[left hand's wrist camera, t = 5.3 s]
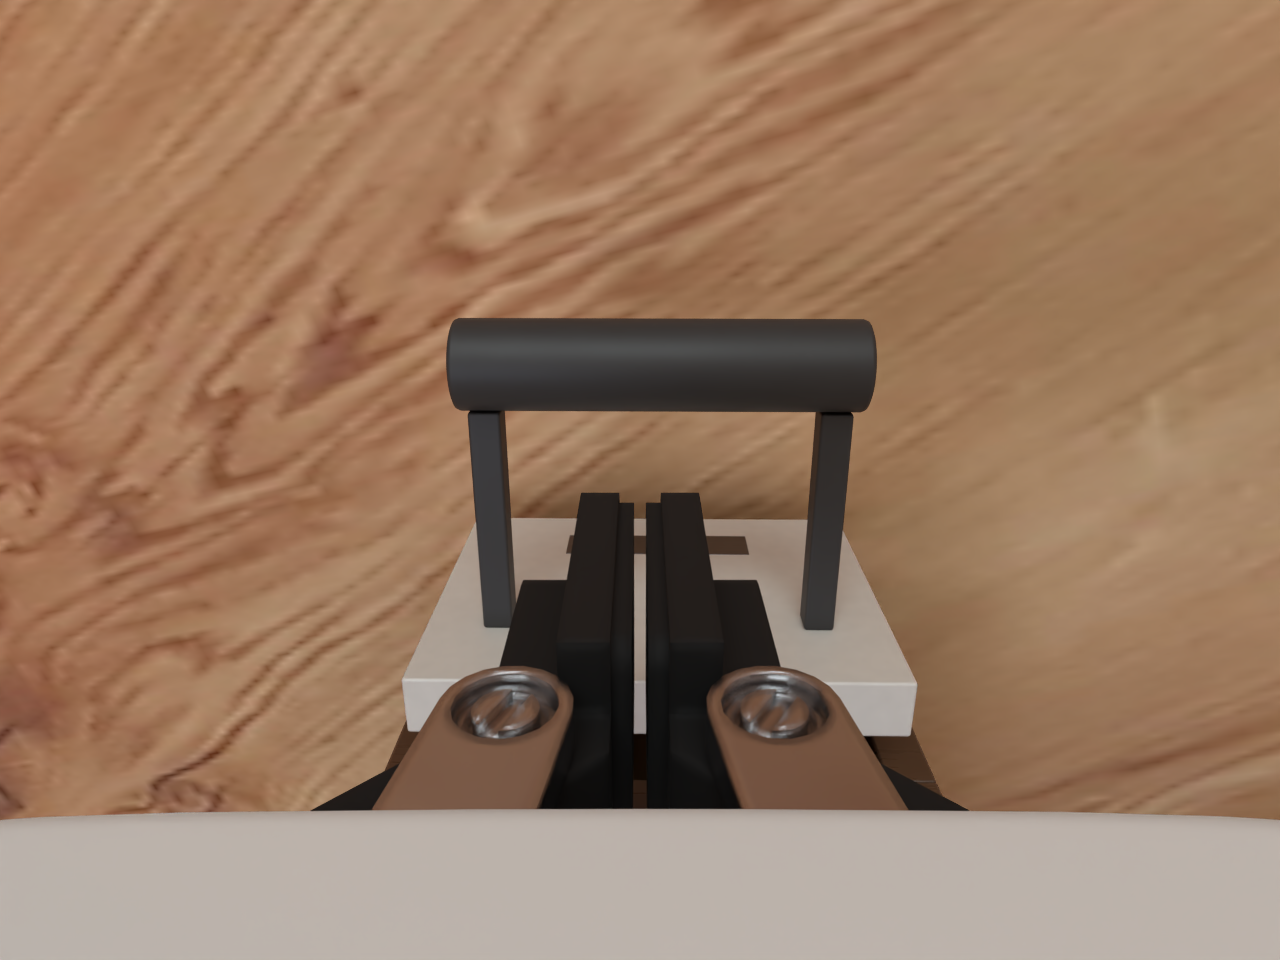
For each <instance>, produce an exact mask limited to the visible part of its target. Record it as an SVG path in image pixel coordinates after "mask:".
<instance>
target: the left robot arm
mask: <svg viewBox="0 0 1280 960" xmlns="http://www.w3.org/2000/svg"><path fill="white" fill-rule="evenodd" d="M633 773H634V503H619V493H581V497H580V503H579V509H578V515H577V521H576V527H575V533H574V539H573V544H572V550H571V556H570V562H569V568H568V574H567V580H523V582H522V584H521V587H520V591H519V595H518V598H517V602H516V606H515V610H514V613H513V617H512V621H511V625H510V628H509V632H508V636H507V639H506V643H505V647H504V651H503V654H502V658H501V662H500V666H499V667H496V668H490V669H485V670H482V671H479V672H476V673H474V674H471V675H468V676H466V677H464V678H462V679H461V680H459V681H458V682H456V683H455V684H453V685H451V686H450V687H449V688H448V689H447V691H446V692H445V693H444V694H443V695H442V696H441V697H440V699H439V700H438V702H437V703H436V705H435V707H434V708H433V710H432V712H431V713H430V715H429V717H428V718H427V720H426V722H425V723H424V725H423V726H422V728H421V730H420V731H419V733H418V735H417V736H416V738H415V740H414V741H413V743H412V744H411V746H410V748H409V749H408V751H407V753H406V754H405V756H404V758H403V759H402V761H401V762H400V763H399V764H397V765H395V766H393V767H392V768H390V769H388V770H386V771H384V772H382V773H380V774H378V775H377V776H375V777H373V778H371V779H369V780H367V781H365V782H363V783H362V784H360V785H358V786H356V787H354V788H352V789H350V790H348V791H347V792H345V793H343V794H341V795H339V796H337V797H335V798H333V799H332V800H330V801H328V802H326V803H324V804H322V805H320V806H318V807H317V808H315V809H313V810H311V811H279V812H189V813H154V814H123V815H92V816H61V817H36V818H18V819H7V820H0V960H1280V820H1274V819H1262V818H1243V817H1224V816H1192V815H1156V814H1120V813H1085V812H1014V811H969V810H967V809H965V808H963V807H962V806H960V805H958V804H956V803H954V802H952V801H950V800H948V799H947V798H945V797H943V796H941V795H939V794H937V793H935V792H933V791H932V790H930V789H928V788H926V787H924V786H922V785H920V784H918V783H917V782H915V781H913V780H911V779H909V778H907V777H905V776H903V775H902V774H900V773H898V772H896V771H894V770H892V769H890V768H888V767H887V766H885V765H883V764H881V763H880V762H879V761H878V759H877V758H876V756H875V754H874V753H873V751H872V749H871V748H870V746H869V744H868V743H867V741H866V740H865V738H864V736H863V735H862V733H861V731H860V730H859V728H858V726H857V725H856V723H855V722H854V720H853V718H852V717H851V715H850V713H849V712H848V710H847V708H846V707H845V705H844V703H843V702H842V700H841V699H840V697H839V696H838V695H837V694H836V693H835V692H834V691H833V689H832V688H831V687H830V686H829V685H827V684H825V683H824V682H822V681H821V680H819V679H818V678H816V677H814V676H812V675H809V674H806V673H804V672H801V671H798V670H795V669H790V668H784V667H781V666H780V662H779V658H778V654H777V651H776V647H775V643H774V639H773V636H772V632H771V628H770V625H769V621H768V617H767V613H766V610H765V606H764V602H763V598H762V595H761V591H760V587H759V584H758V582H757V580H713V574H712V568H711V562H710V556H709V550H708V545H707V539H706V533H705V527H704V521H703V515H702V509H701V503H700V497H699V493H661V503H646V774H647V809H633Z"/></svg>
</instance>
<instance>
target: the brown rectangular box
mask: <svg viewBox="0 0 1280 960" xmlns="http://www.w3.org/2000/svg"><path fill="white" fill-rule="evenodd" d="M418 733H419V732H410V731H408V728H407V720H406V722H405V725H404V727H403V729H402V732H401V734H400V736H399V739H398V741H397V743H396V746H395V748H394V750H393V753H392V755H391V757H390V760H389V762H388V764H387V767H386V769H385V771H386V770H388V769H390V768H392V767H393V766H395V765H397V764H399V763H400V762H401V761H402V759H403V758H404V756H405V754H406V753H407V751H408V749H409V748H410V746H411V744H412V743H413V741H414V740H415V738H416V736H417V735H418ZM864 738H865V740H866V741H867V743H868V744H869V746H870V748H871V749H872V751H873V753H874V754H875V756H876V758H877V759H878V761H879V762H880V763H881V764H883V765H885V766H887V767H888V768H890V769H892V770H894V771H896V772H898V773H900V774H902V775H903V776H905V777H907V778H909V779H911V780H913V781H915V782H917V783H918V784H920V785H922V786H924V787H926V788H928V789H930V790H932V791H933V792H935V793H937V794H939V795H941V796H942V794H941V792H940V790H939V787H938V785H937V784H936V781H935V779H934V776H933V774H932V772H931V769H930V767H929V765H928V763H927V760H926V758H925V756H924V754H923V751H922V749H921V747H920V744H919V742H918V740H917V738H916V735H915V733H914V731H913V729H912V728H911V734H910V736H864ZM633 809H647V780H633Z"/></svg>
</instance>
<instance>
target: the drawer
mask: <svg viewBox="0 0 1280 960" xmlns="http://www.w3.org/2000/svg"><path fill="white" fill-rule="evenodd" d="M446 368H447V380H448V387H449V392H450V396H451V399H452V402H453V404H454V406H455V407H456V408H457V409H459V410H462V411H470V412H469V413H468V425H469V439H470V452H471V465H472V478H473V491H474V504H475V517H476V522H475V524H474V526H473V528H472V530H471V533H470V535H469V537H468V539H467V541H466V543H465V545H464V548H463V550H462V552H461V554H460V556H459V558H458V560H457V563H456V565H455V567H454V569H453V571H452V573H451V575H450V578H449V580H448V582H447V584H446V586H445V588H444V590H443V592H442V595H441V597H440V599H439V601H438V603H437V605H436V607H435V610H434V612H433V614H432V616H431V618H430V620H429V622H428V625H427V627H426V629H425V631H424V633H423V635H422V637H421V640H420V642H419V644H418V646H417V648H416V650H415V652H414V655H413V657H412V659H411V661H410V663H409V665H408V667H407V669H406V672H405V674H404V676H403V678H402V687H403V695H404V704H405V712H406V720H407V728H408V731H410V732H419V731H420V730H421V728H422V726H423V725H424V723H425V722H426V720H427V718H428V717H429V715H430V713H431V712H432V710H433V708H434V707H435V705H436V703H437V702H438V700H439V699H440V697H441V696H442V695H443V694H444V693H445V692H446V691H447V689H448V688H449V687H450V686H451V685H453V684H455V683H456V682H458V681H459V680H461V679H462V678H464V677H466V676H468V675H471V674H474V673H476V672H479V671H482V670H485V669H490V668H496V667H499V666H500V662H501V658H502V654H503V651H504V647H505V643H506V639H507V636H508V632H509V628H510V625H511V621H512V617H513V613H514V610H515V606H516V602H517V598H518V595H519V591H520V587H521V584H522V582H523V580H567V574H568V568H569V562H570V556H571V550H572V544H573V539H574V533H575V527H576V521H577V518H511V508H510V492H509V475H508V458H507V442H506V425H505V411H682V412H816V417H815V430H814V442H813V455H812V468H811V481H810V494H809V506H808V519H807V520H757V519H703V521H704V527H705V533H706V539H707V545H708V550H709V556H710V562H711V568H712V574H713V580H757V582H758V584H759V587H760V591H761V595H762V598H763V602H764V606H765V610H766V613H767V617H768V621H769V625H770V628H771V632H772V636H773V639H774V643H775V647H776V651H777V654H778V658H779V662H780V666H781V667H784V668H790V669H795V670H798V671H801V672H804V673H806V674H809V675H812V676H814V677H816V678H818V679H819V680H821V681H822V682H824V683H825V684H827V685H829V686H830V687H831V688H832V689H833V691H834V692H835V693H836V694H837V695H838V696H839V697H840V699H841V700H842V702H843V703H844V705H845V707H846V708H847V710H848V712H849V713H850V715H851V717H852V718H853V720H854V722H855V723H856V725H857V726H858V728H859V730H860V731H861V733H862V735H863V736H910V734H911V728H912V721H913V714H914V707H915V700H916V692H917V685H918V684H917V682H916V680H915V678H914V676H913V674H912V672H911V670H910V667H909V665H908V663H907V661H906V659H905V657H904V655H903V653H902V651H901V649H900V647H899V645H898V643H897V641H896V639H895V637H894V635H893V632H892V630H891V628H890V626H889V624H888V622H887V620H886V618H885V616H884V614H883V612H882V610H881V608H880V606H879V604H878V602H877V599H876V597H875V595H874V593H873V591H872V589H871V587H870V585H869V583H868V581H867V579H866V577H865V575H864V573H863V571H862V569H861V567H860V564H859V562H858V560H857V558H856V556H855V554H854V552H853V550H852V548H851V546H850V544H849V542H848V540H847V538H846V536H845V534H844V531H843V523H844V512H845V502H846V491H847V481H848V470H849V460H850V449H851V439H852V428H853V418H854V417H853V415H852V413H851V412H862V411H865V410H866V409H867V408H868V406H869V404H870V401H871V398H872V395H873V392H874V387H875V380H876V369H877V350H876V341H875V335H874V332H873V328H872V325H871V324H870V322H869V321H867V320H864V319H588V318H458V319H456V320H454V321H453V323H452V325H451V327H450V331H449V335H448V341H447V352H446ZM633 780H647V774H646V519H634V773H633Z"/></svg>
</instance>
